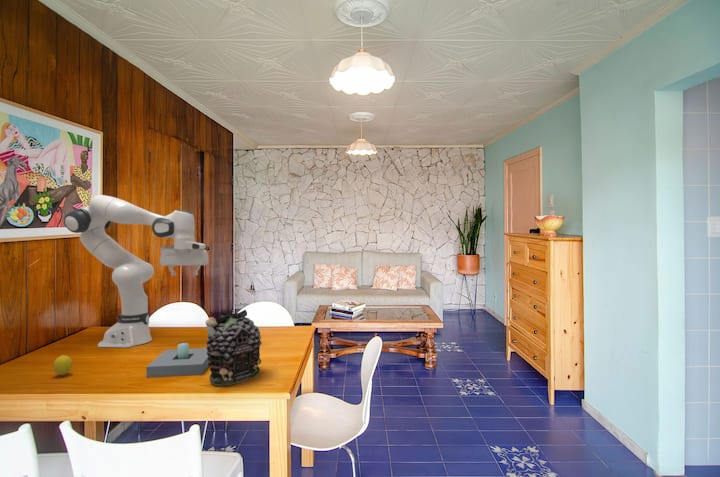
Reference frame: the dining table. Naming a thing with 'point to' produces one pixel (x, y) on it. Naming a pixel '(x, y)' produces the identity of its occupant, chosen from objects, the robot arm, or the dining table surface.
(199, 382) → the dining table surface
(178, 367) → the cutout board
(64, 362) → the lemon
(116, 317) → the robot arm
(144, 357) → the dining table surface
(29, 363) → the dining table surface
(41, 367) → the dining table surface
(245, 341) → the decorative house
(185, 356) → the peg
